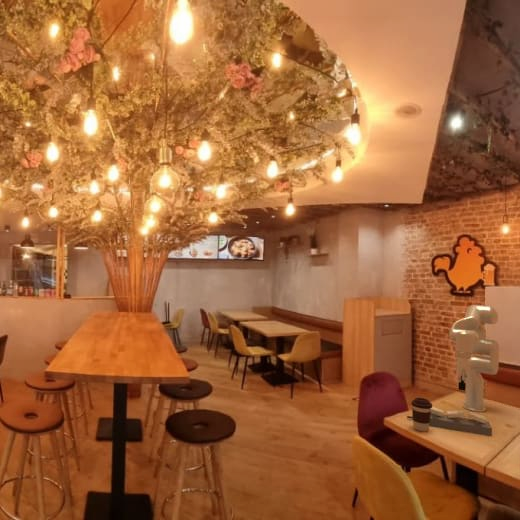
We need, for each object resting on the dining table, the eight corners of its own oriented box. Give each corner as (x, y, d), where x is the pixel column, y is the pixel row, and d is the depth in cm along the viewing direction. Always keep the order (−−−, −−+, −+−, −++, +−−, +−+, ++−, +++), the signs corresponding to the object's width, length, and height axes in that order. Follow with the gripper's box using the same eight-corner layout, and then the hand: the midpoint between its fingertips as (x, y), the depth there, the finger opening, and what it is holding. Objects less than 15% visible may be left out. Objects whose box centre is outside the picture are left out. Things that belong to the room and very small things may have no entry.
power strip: (407, 416, 229) (407, 407, 229) (488, 429, 215) (488, 420, 215) (406, 422, 220) (407, 413, 220) (491, 436, 205) (492, 426, 205)
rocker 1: (426, 408, 225) (427, 404, 225) (442, 414, 222) (443, 410, 222) (426, 411, 221) (428, 407, 220) (442, 417, 218) (443, 413, 218)
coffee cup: (427, 426, 215) (428, 397, 216) (433, 433, 205) (435, 403, 206) (408, 424, 216) (409, 395, 217) (413, 431, 206) (414, 401, 207)
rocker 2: (467, 414, 218) (468, 410, 218) (484, 420, 215) (485, 416, 215) (468, 417, 213) (469, 413, 213) (485, 423, 210) (486, 419, 210)
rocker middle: (447, 414, 221) (446, 410, 222) (463, 414, 219) (462, 409, 219) (448, 417, 217) (447, 413, 217) (464, 417, 214) (463, 412, 214)
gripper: (454, 351, 226) (453, 385, 225) (456, 356, 212) (455, 392, 211) (469, 353, 223) (468, 387, 223) (472, 358, 209) (471, 394, 209)
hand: (461, 389), depth 217 cm, fingers closed
